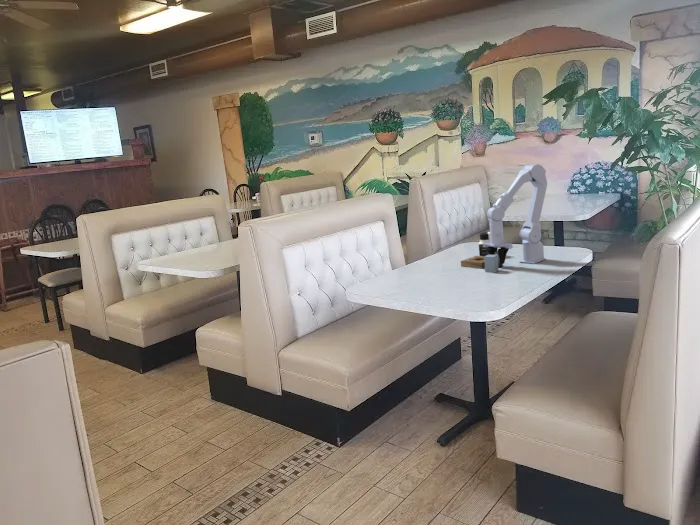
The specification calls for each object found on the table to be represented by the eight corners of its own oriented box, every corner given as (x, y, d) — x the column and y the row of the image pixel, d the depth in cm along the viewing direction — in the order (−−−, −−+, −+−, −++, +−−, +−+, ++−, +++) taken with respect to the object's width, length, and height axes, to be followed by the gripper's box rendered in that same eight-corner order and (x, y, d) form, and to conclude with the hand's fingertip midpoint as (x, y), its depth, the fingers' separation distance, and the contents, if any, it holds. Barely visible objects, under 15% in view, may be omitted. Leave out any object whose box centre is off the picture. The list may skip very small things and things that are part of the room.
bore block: (476, 260, 273) (476, 255, 272) (497, 262, 263) (497, 257, 263) (461, 266, 265) (460, 261, 265) (481, 268, 256) (481, 263, 256)
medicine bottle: (479, 257, 279) (477, 234, 276) (480, 254, 285) (478, 231, 283) (494, 257, 276) (492, 233, 274) (495, 254, 283) (493, 230, 281)
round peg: (497, 265, 258) (496, 250, 257) (504, 266, 256) (503, 251, 254) (493, 267, 256) (492, 252, 255) (499, 267, 253) (498, 252, 252)
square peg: (489, 269, 253) (487, 254, 251) (498, 270, 250) (497, 254, 249) (485, 272, 249) (484, 256, 248) (494, 272, 246) (493, 256, 245)
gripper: (478, 234, 256) (480, 263, 259) (505, 236, 245) (506, 266, 248) (487, 232, 260) (489, 260, 263) (514, 233, 249) (516, 263, 252)
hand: (498, 263), depth 256 cm, fingers closed on round peg, 4 cm apart
